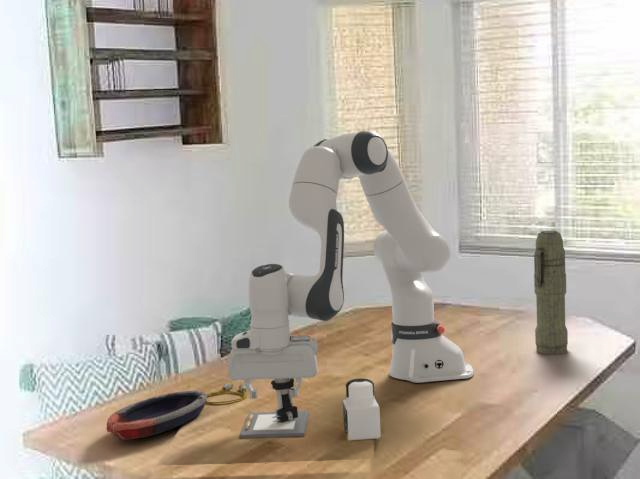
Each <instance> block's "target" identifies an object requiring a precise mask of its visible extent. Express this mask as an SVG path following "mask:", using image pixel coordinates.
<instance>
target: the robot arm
mask: <svg viewBox="0 0 640 479" xmlns="http://www.w3.org/2000/svg"><path fill="white" fill-rule="evenodd" d="M357 177H358V180H359V182H360V184H361V189H362V190H363V193H364V196H365V198H366V201H367V203H368V205H369V208H370V210H371V212H372V216H373V218H374V219H375V220H376V222H377V224H379V225H381V226H382V227H383V228H384V229H385V231H384V230H383V231H381V233H379V234H378V235H377V236H376V238H375V240H374V242H373V247H372V248H373V249H372V250H373V251H372V252H373V255H374V257H375V259H376V260H377V261H378V263H379V264H380V265H381V268H382V269H383V272H384V275H385V277H386V280H387V283H388V288H389V291H390V298H391V310H392V311H391V312H392V322H391V323H390V324H391V327H390V336H391V339H390V340H391V343H392V352H391V353H392V354H391V362H390V367H389V372H388V375H389V376H390V377H391V378H395V379H398V380H404V381H408V382H411V383H431V382H439V381H440V382H441V381H449V380H450V381H451V380H461V379H463V380H464V379H469V378H472V377H473V376H474V368H473V366H472V365H471V364H469V363H467V362H465V356H464V353H463V351H462V349H461V348H460V347H459V346H458V345H457V344H455V343H454V342H453V341H451V340H450V339H449V338H447V337H446V336H445V335H443V334H444V333H445V331H446V329H445V326H444V325H443V324H442V323H440V322H439V321H436V320H435V313H434V311H435V310H434V307H435V306H434V294H433V291H432V289H431V288H430V286H428V284H427V282H426V280H425V279H424V276H423V274H431V273H437V272H440V271H442V270H443V269H444V268H445V267H446V266H447V265H448V264H449V260H450V256H451V248H450V245H449V243H448V240H447V239H446V238H445V237H444V236H442V235H441V234H439V233H438V232H437V231H436V230H435V229H434V228H433V226H431V225H430V223H429V221H427V219H426V218H425V217H424V215H423V214H422V212H421V211H420V209H419V208H418V206H417V205H416V203H415V200H414V198H413V196H412V193H411V192H410V189H409V186H408V184H407V181H406V178H405V177H404V174H403V172H402V170H401V167H400V166H399V164H398V162H397V160H396V158H395V156H394V155H393V154H392V152H391V150H390V149H389V148H388V146H387V143H386V141H385V139H384V138H383V137H382V136H381V135H380V134H379V133H377V132H375V131H370V130H361V131H360V132H348V133H343V134H342V133H341V134H340V135H338V136H334V137H330V138H324V139H321V140H319V141H318V142H316V143H315V144H314V145H313V146H311V147H309V148H307V149H306V150H305V151H304V152H303V154H302V156H301V157H300V160H299V163H298V165H297V167H296V171H295V174H294V177H293V181H292V184H291V189H290V193H289V197H288V198H289V200H288V208H289V211H290V214H291V215H292V216H293V218H294V219H295V220H296V221H297V222H298V223H300V224H301V225H303V226H304V227H306V228H308V229H309V230H312V231H314V232H316V233H317V234H318V235H319V237H320V256H319V257H320V258H319V259H320V260H319V262H320V263H319V271H318V273H317V274H315V275H302V274H301V275H300V274H294V273H291V272H288V271H286V270H285V269H284V266H283V265H281V264H278V263H268V264H264V265H260V266H256V267H255V268H254V269H252V271H251V272H250V276H249V282H248V306H249V311H250V313H251V320H250V324H249V325H250V329H249V330H246V331H244V332H240V333H238V334H236V335H235V336H234V337H233V338H232V339H231V341H230V343H231V344H230V346H231V351H230V352H229V354H228V360H227V377H228V378H229V380H231V381H243V382H244V383H243V384H244V385H245V386H246V388H247V389H246V390H247V391H248V392H249V399H251V400H252V399H255V400H257V399H258V389H257V388H256V389H255V388H253V386H252V385H251V384H252V380H254V381H256V380H275V379H284V378H293V379H294V380H295V383H296V385H295V386H294V387H292V388H291V397H292V398H298V397H299V389H300V386H301V384H303V383H302V382H303V379H305V378H308V379H309V378H315V377H316V376H317V374H318V369H319V368H318V361H317V356H316V355H317V354H318V352H319V351H318V350H319V349H318V346H319V345H318V341H317V340H316V339H315V338H314V337H311V336H310V335H304V336H300V335H299V336H295V335H294V336H291V324H290V322H291V321H290V319H289V316H290V317H295V318H296V317H297V318H309V319H312V320H318V321H322V322H328V321H331V320H333V318H335V317H336V316H337V315H338V314H339V313H340V311H341V310H342V308H343V305H344V302H345V293H344V285H343V275H344V274H343V273H344V249H345V224H344V223H345V222H344V221H345V220H344V217H343V214H341V212H339V211H338V208H337V199H338V198H337V197H338V191H339V186H340V180H348V179H349V180H351V179H354V178H357Z"/></svg>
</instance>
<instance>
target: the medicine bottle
mask: <svg viewBox="0 0 640 479" xmlns="http://www.w3.org/2000/svg"><path fill="white" fill-rule="evenodd" d="M374 384H375V383H374V381H373V380H371V379H368V378H353V379H351V380H348V381H347V382H346V384H345V392H346V394H345V396H346V399H342V411H343V412H342V413H343V430H344V433H345V436H346V438H347V441H363V440H375V439H381V437H382V436H381V434H382V433H381V415H380V410H381V409H380V405H379V403H378V401H377V400H376V398H375V385H374Z"/></svg>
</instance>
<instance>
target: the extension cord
mask: <svg viewBox="0 0 640 479" xmlns="http://www.w3.org/2000/svg"><path fill="white" fill-rule="evenodd" d="M233 387H234V383H233V381H229V382H226V383H225V384H224V385H223V386H222V388H221V389H219V390H218V391H214V392H209V393H205V394H206V395H207V398H208V397H209V398H210V397H213V396H219V395H226V394H227V393H229V394H232V395H237V396H241V397H240V398H236V399H231V400H224V401H208V400H206V402H205V404H208V405H212V406H213V405H215V406H223V405H230V404H231V405H232V404H235V403H239V402H242V401H244V400H246V399H247V395H246V392H247V390H248V389H247V388H246V386H245V385H244V383H240V384H239V386H238V390H239V391H240V392H238V391H233V390H231V389H232V388H233Z"/></svg>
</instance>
